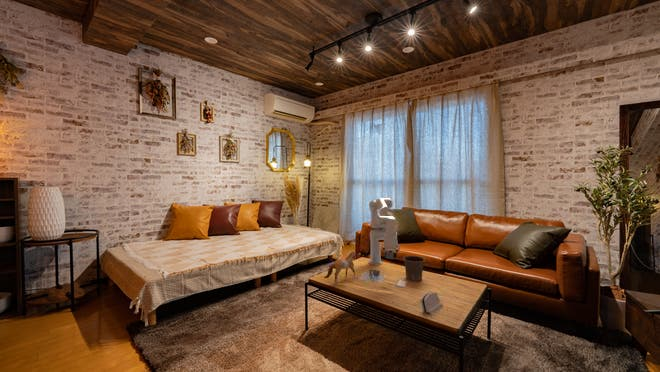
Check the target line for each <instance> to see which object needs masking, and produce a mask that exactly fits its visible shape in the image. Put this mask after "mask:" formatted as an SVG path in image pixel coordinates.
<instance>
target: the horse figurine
mask: <svg viewBox="0 0 660 372" xmlns="http://www.w3.org/2000/svg"><path fill="white" fill-rule="evenodd" d="M356 254H357V251H352V252H350V253H349V255H348V256H347V257H346V258H345V259H343V260H342V259H338V260H336V261H335V262H334V263H333V264H331V265H330V266H329V268H328V269H327V274H326V275H325V276H323V278H324V279H329V278H330V276H331V275H332V274H333V271H334V270H335V272H334V281H333V282H334V284H333V285H334V286H336V285H337V283H338V281H339V278H338V276H339V274H340V272H341V271H342V269H343V270H345V276H344V277H345V278H348V277H347V275H348V269H350V270H351V271H352V272H353V278H356V271H355V268H354V265H355V264H354V261H355V260H356V256H357V255H356Z"/></svg>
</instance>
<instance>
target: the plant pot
mask: <svg viewBox="0 0 660 372" xmlns="http://www.w3.org/2000/svg"><path fill="white" fill-rule="evenodd" d="M403 261H404V262H403V263H404V267H405V278H406V279H407V280H409V281H411V282H420V281H422V280H423V271H424V265H425V258H424V257H421V256H416V255H407V256H403Z"/></svg>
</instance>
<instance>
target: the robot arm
mask: <svg viewBox="0 0 660 372" xmlns="http://www.w3.org/2000/svg"><path fill="white" fill-rule="evenodd" d="M393 204H394V203H393V200H392V199H391V198H389V197H384V198H383V197H380V198H377V199H376V200H370V202H369V205H368V207H369V210H370V215H371V218H370V219H371V221H370V223H371V225H370V226H371V228H372V229H371V230H370V231H369V239H370V260H369V261H368V264H369V265H373V266H381V265H382V264H383V261H382V259H381V257H382V256H381V255H382V254H381V252H382V250H383V251H384V257H385V258H386V251H387V250H393V251H394V252H395V253H394V259H396V257H397V253H398V252H399V251H400V250H401V249H402V247H401V246H400V245H399V243H398V236H397V235H398V234H399V233H398V232H397V220H396V218H395V217H394V216H392V215H387V214H388V213H389V211H390V209H391V208H392V207H393ZM380 241H383V244H381V242H380ZM381 249H382V250H381Z"/></svg>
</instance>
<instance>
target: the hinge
mask: <svg viewBox="0 0 660 372" xmlns="http://www.w3.org/2000/svg"><path fill="white" fill-rule="evenodd" d="M420 304H421V309H422V313H429V315H431V316H432V315H433V314H434V313H436V312H437V311H438V310H440V309H441V308H443V306H444V305H443V302H441V301H440V298H439V295H438V293H437V292H433V291H432V292H431V291H430V292H427V293H425V294H424V295H423V296H422V297H421V298H420Z"/></svg>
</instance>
